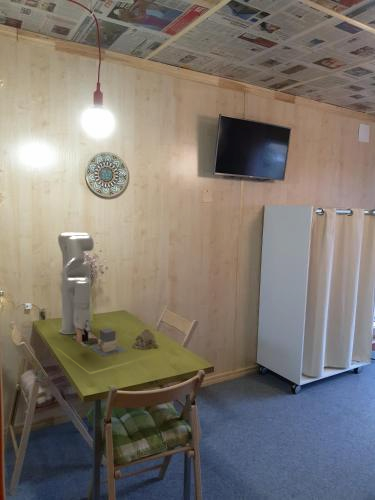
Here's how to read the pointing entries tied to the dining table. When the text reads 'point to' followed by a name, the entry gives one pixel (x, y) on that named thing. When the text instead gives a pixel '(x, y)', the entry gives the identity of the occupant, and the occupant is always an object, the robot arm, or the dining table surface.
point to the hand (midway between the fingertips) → (82, 339)
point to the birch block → (107, 345)
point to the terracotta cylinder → (80, 334)
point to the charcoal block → (107, 334)
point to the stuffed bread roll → (145, 340)
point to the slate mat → (100, 352)
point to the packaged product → (90, 339)
